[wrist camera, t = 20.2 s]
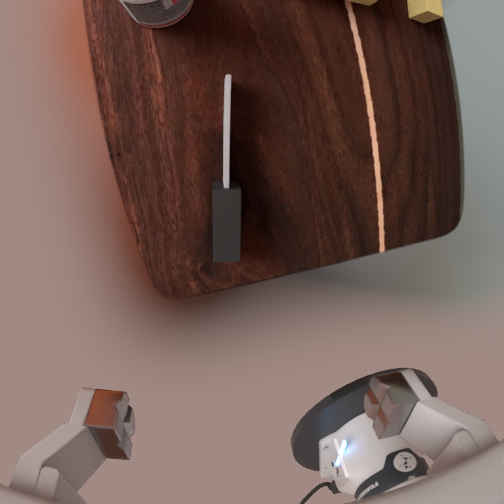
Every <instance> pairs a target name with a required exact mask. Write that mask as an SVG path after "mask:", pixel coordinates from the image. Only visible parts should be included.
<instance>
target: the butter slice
mask: <svg viewBox="0 0 504 504" xmlns="http://www.w3.org/2000/svg"><path fill="white" fill-rule="evenodd" d="M407 3H408V14H409V18H410V19H413V20H416V21H419V22H422V23H426V22H429V21H433V20H436V19H439V18H442V17H443V9H442V1H441V0H407Z"/></svg>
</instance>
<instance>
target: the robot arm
mask: <svg viewBox="0 0 504 504" xmlns="http://www.w3.org/2000/svg"><path fill="white" fill-rule="evenodd" d="M369 385H370V387H371V388H370V389H369V390H368V391H367V392H366V394H365V397H364V409H365V413H363V414H361V415H359V416H357V417H355V418H354V419H352V420H351V421H349V422H348V423H346V424H345V425H344V426H342V427H341V428H340V429H339V430H337V431H336V432H334V433H332V434H330V435H328V436H326V437H324V438H323V439H321V440H320V441H319V468H320V476H321V478H334V480H333V481H332V482H331V483H329V482H325V483H322V484H319V485H318V486H317V487H315V488H314V489H313V490H312V491H311V492H310V493H309V494H308V495H307V496H306V497H305V498H304V499H303V500H302V501H301V503H300V504H304V503H305V502H306V501H307V500H308V499H309V498H310V497H311V496H312V495H313V494H314V493H315V492H316V491H317V490H318V489H320V488H321V487H323V486H328V488H329V489H330V490H331V491H332V492H333V494H335V493H342V492H344V493H348V494H351V495H354V497H355V498H356V500H357V501H354V502H350V503H346V504H504V439H503V440H502V441H500V442H499V441H498V440H497V439H496V437H495V436H494V434H493V433H492V431H491V430H490V429H489V428H488V426H487V425H486V423H485V422H484V420H482V419H480V418H478V417H476V416H474V415H472V414H470V413H468V412H466V411H464V410H461V409H460V408H457V407H455V406H453V405H451V404H449V403H447V402H445V401H443V400H441V399H439V398H437V397H431V395H430V394H429V392H428V391H427V389H426V388H425V387H424V385H423V384H422V382H421V381H420V379H419V378H418V377H417V375H416V374H415V373H414V371H413V370H412V369H410V368H409V369H405V370H401V371H395V372H391V373H386V374H381V375H376V376H373V377H372V378H371V380H370V383H369ZM128 403H129V397H128V395H127V392H122V391H111V390H101V389H91V388H83V389H82V390H81V391H80V394H79V397H78V399H77V402H76V405H75V407H74V410H73V413H72V416H71V419H70V422H69V423H64V424H63V425H62V426H60V427H59V428H58V429H56V430H55V431H54V432H53V433H51V434H50V435H49V436H47V437H46V438H45V439H43V440H42V441H41V442H39V443H38V444H37V445H36V446H34V447H33V448H31V449H30V450H29V451H27V452H26V453H25V454H23V455H22V456H21V457H20V458H19V460H18V463H17V465H16V468H15V471H14V474H13V477H12V480H11V483H10V486H9V487H7V486H4V485H1V484H0V504H87V503H86V502H85V500H84V499H83V498H82V497H81V496H80V495H79V494H78V493H77V491H78V490H79V489H80V488H81V487H82V486H83V484H84V483H85V482H86V481H87V480H88V479H89V477H91V476H92V474H93V473H94V472H95V471H96V470H97V469H98V468H99V467H100V466H101V464H102V463H103V462H104V461H105V460H106V458H112V459H122V460H130V455H131V449H132V443H131V440H130V437H131V436H132V435H133V434H134V430H135V417H134V412H133V409H132V407H130V406H129V405H128ZM423 454H425V455H426V456H428V457H429V458H431V459H432V460H433V461H434V462H433V464H432V465H431V466H430V467H429V465H427V463H426V461H425V459H424V458H422V457H423Z"/></svg>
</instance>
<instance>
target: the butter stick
mask: <svg viewBox="0 0 504 504" xmlns="http://www.w3.org/2000/svg"><path fill="white" fill-rule="evenodd" d="M347 1H351V2H355V3H360V4H364V5H368V6H370V5H371V4H373V3H375V2H376V1H378V0H347Z"/></svg>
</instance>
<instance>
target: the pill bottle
mask: <svg viewBox="0 0 504 504" xmlns="http://www.w3.org/2000/svg"><path fill="white" fill-rule="evenodd" d="M193 1H194V0H119V2H120V3H121V4H122V5H123V7H124V8H125V9H126V10H127V12H128V13H129V14H130V15H131V17H132V18H133V19H134V20H135V21H136V22H138V23H139V24H141V25H143V26H146V27H150V28H162V27H166V26H170V25H172V24H174V23H176V22H178V21H179V20H181V19H182V18H183V17H184V16H185V15H186V14H187V13H188V12H189V10H190V9H191V7H192V4H193Z"/></svg>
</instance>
